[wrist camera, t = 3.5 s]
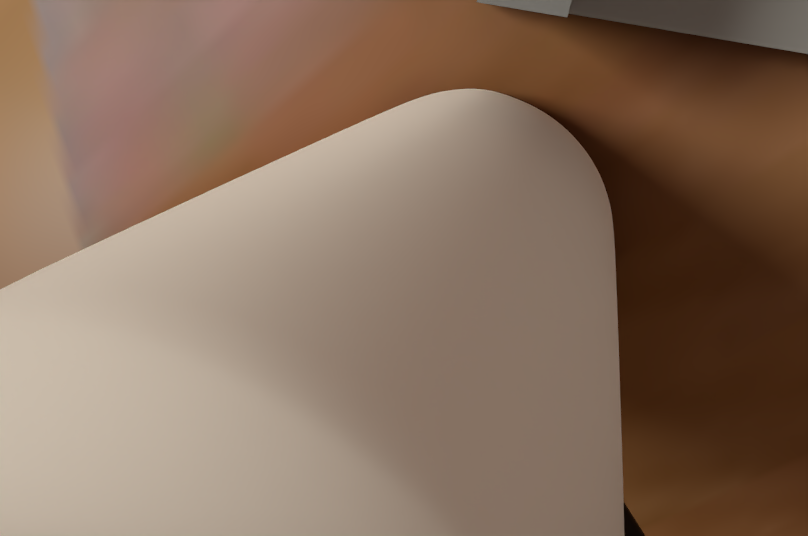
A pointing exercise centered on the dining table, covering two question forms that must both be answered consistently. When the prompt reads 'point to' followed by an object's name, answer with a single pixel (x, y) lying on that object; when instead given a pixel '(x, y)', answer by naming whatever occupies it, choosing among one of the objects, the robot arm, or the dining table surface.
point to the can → (334, 347)
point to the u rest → (694, 17)
